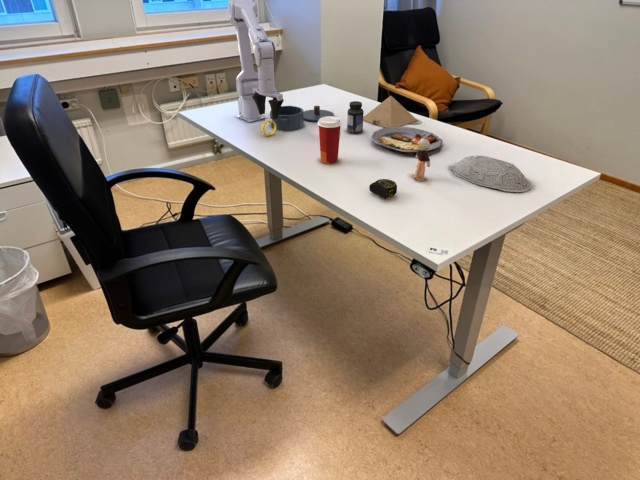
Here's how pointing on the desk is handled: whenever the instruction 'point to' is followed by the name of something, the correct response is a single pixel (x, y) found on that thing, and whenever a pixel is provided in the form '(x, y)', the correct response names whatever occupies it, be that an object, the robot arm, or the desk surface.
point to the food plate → (405, 139)
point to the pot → (289, 118)
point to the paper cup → (329, 139)
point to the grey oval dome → (491, 173)
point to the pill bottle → (355, 117)
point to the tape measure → (384, 188)
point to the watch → (268, 122)
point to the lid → (316, 114)
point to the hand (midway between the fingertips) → (268, 116)
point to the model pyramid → (389, 114)
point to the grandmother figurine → (422, 160)
